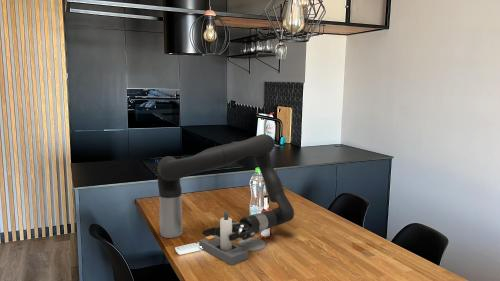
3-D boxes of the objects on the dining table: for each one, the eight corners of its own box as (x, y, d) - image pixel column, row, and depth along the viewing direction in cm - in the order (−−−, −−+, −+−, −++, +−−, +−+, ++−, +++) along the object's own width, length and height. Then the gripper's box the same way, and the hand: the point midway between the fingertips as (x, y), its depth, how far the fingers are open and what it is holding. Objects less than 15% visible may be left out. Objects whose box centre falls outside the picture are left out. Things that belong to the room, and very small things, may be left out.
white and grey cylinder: (218, 254, 150) (217, 211, 147) (227, 251, 153) (226, 208, 150) (225, 258, 147) (225, 214, 144) (234, 254, 150) (234, 211, 147)
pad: (232, 244, 159) (232, 243, 159) (252, 237, 166) (252, 235, 166) (250, 253, 151) (250, 252, 151) (271, 245, 158) (271, 244, 158)
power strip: (199, 247, 156) (199, 238, 155) (215, 241, 161) (215, 233, 161) (231, 265, 141) (231, 255, 141) (248, 258, 147) (248, 249, 146)
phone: (215, 226, 175) (237, 236, 164) (215, 229, 176) (237, 239, 165) (200, 231, 170) (222, 242, 159) (201, 233, 170) (222, 244, 159)
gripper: (242, 210, 162) (210, 219, 152) (266, 219, 152) (234, 230, 141) (242, 227, 164) (210, 238, 153) (266, 238, 153) (234, 250, 142)
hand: (222, 234), depth 147 cm, fingers open, 8 cm apart
